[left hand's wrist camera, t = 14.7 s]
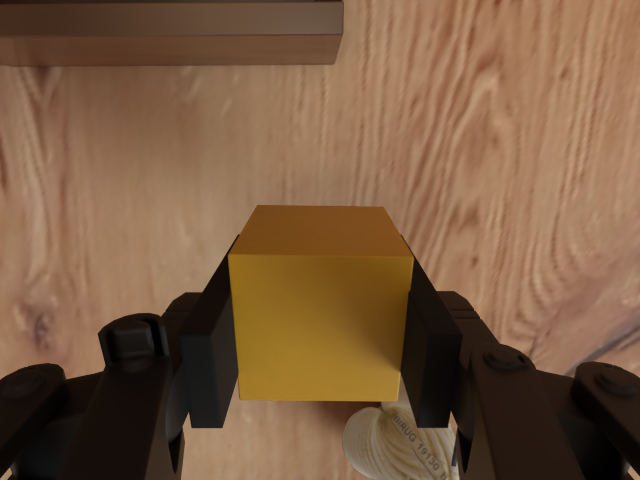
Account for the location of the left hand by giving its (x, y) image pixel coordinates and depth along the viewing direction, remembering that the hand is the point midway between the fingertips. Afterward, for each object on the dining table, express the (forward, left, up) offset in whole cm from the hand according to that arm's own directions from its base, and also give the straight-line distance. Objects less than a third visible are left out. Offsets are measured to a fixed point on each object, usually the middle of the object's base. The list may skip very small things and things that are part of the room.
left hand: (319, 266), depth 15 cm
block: (0, 0, 0) cm, 0 cm away
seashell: (+3, -17, -8) cm, 19 cm away
